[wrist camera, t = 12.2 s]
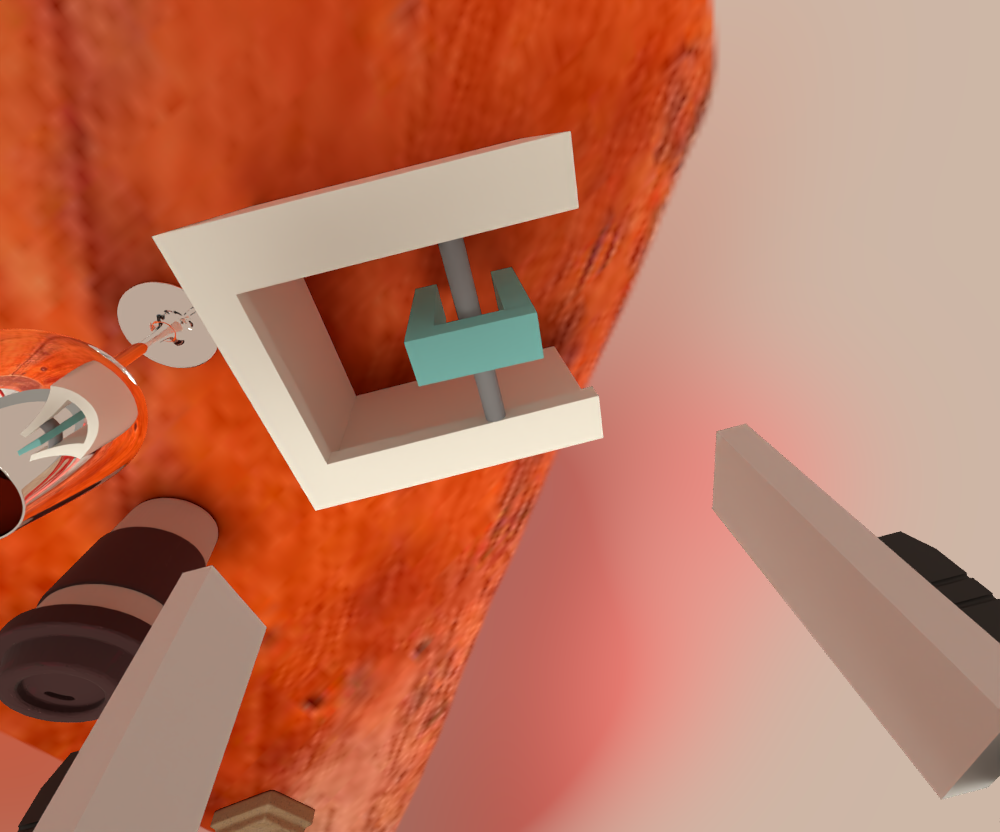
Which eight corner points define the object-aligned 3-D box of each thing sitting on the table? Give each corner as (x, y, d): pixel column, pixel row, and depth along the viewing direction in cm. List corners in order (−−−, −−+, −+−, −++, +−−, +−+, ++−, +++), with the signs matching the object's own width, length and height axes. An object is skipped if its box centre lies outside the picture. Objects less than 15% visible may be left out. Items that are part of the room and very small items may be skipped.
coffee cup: (196, 470, 38) (77, 631, 25) (256, 547, 43) (183, 712, 30) (86, 501, 38) (-88, 676, 25) (159, 573, 43) (45, 750, 31)
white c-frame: (251, 206, 29) (151, 236, 18) (521, 138, 29) (570, 131, 18) (347, 411, 37) (315, 510, 27) (556, 358, 37) (603, 437, 27)
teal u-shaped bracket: (415, 289, 29) (403, 342, 21) (511, 266, 29) (536, 312, 21) (426, 323, 30) (418, 386, 22) (518, 302, 30) (544, 358, 22)
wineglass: (223, 273, 30) (12, 397, 15) (243, 380, 34) (92, 564, 19) (87, 262, 29) (-298, 385, 14) (124, 375, 33) (-141, 567, 18)
